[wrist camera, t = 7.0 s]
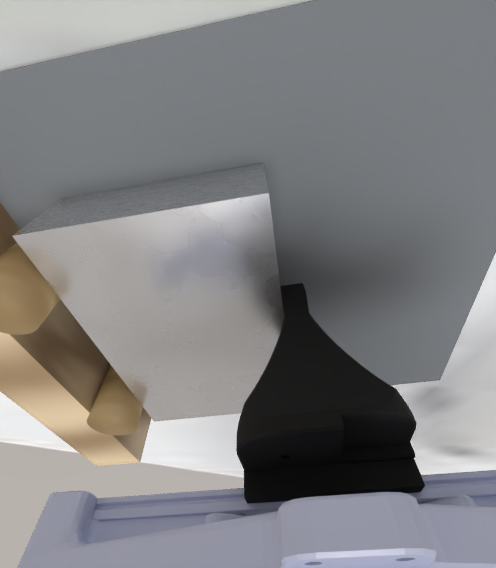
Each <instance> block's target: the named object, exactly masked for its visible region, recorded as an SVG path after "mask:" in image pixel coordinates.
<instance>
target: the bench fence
mask: <svg viewBox="0 0 496 568" xmlns="http://www.w3.org/2000/svg"><path fill="white" fill-rule="evenodd" d="M19 230H20V228H19V227H18V226H17V224H16V223H15V221H14V220H13V219H12V217H11V216H10V215H9V213H8V212H7V211H6V209H5V208H4V206H3V205H2V204H1V202H0V391H1V392H2V393H3V394H4V395H6V396H7V397H8V398H10V399H11V400H12V401H13V402H15V403H16V404H17V405H19V406H20V407H21V408H22V409H24V410H25V411H26V412H28V413H29V414H30V415H31V416H33V417H34V418H35V419H37V420H38V421H39V422H40V423H42V424H43V425H44V426H46V427H47V428H48V429H49V430H51V431H52V432H53V433H55V434H56V435H57V436H58V437H60V438H61V439H62V440H64V441H65V442H66V443H68V444H69V445H70V446H71V447H73V448H74V449H75V450H77V451H78V452H79V453H80V454H82V455H83V456H84V457H86V458H87V459H88V460H89V461H91V462H92V463H93V464H95V465H96V466H102V465H114V464H125V463H137V462H140V460H141V456H142V452H143V448H144V444H145V440H146V437H147V433H148V429H149V425H150V421H151V417H150V415H149V414H148V413H147V411H146V410H145V409H144V408H143V406H142V405H141V403H140V402H139V401H138V400H137V398H136V397H135V396H134V394H133V393H132V392H131V391H130V389H129V388H128V387H127V385H126V384H125V383H124V381H123V380H122V379H121V378H120V376H119V375H118V374H117V372H116V371H115V370H114V368H113V367H112V366H111V364H110V363H109V362H108V361H107V359H106V358H105V357H104V355H103V354H102V353H101V351H100V350H99V349H98V347H97V346H96V345H95V344H94V342H93V341H92V340H91V338H90V337H89V336H88V334H87V333H86V332H85V330H84V329H83V328H82V327H81V325H80V324H79V323H78V321H77V320H76V319H75V317H74V316H73V315H72V314H71V312H70V311H69V310H68V308H67V307H66V306H65V304H64V303H63V302H62V300H61V299H60V298H59V297H58V295H57V294H56V293H55V291H54V290H53V289H52V287H51V286H50V285H49V283H48V282H47V281H46V280H45V278H44V277H43V276H42V274H41V273H40V272H39V270H38V269H37V268H36V266H35V265H34V264H33V263H32V261H31V260H30V259H29V257H28V256H27V255H26V253H25V252H24V251H23V250H22V248H21V247H20V246H19V244H18V243H17V242H16V240H15V239H14V238H13V235H14V234H15V233H16V232H18V231H19Z"/></svg>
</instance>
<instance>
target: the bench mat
mask: <svg viewBox="0 0 496 568" xmlns="http://www.w3.org/2000/svg"><path fill="white" fill-rule="evenodd" d="M260 163H263V165H264V170H265V175H266V181H267V186H268V191H269V198H270V206H271V214H272V223H273V231H274V239H275V247H276V255H277V263H278V271H279V279H280V286H283V285H291V284H298V283H303V285H304V288H305V291H306V295H307V302H308V309H309V313H310V314H311V316H312V317H313V318H314V320H315V321H316V322H317V323H318V325H319V326H320V327H321V328H322V329H323V330H324V331H325V333H326V334H327V335H328V336H329V337H330V338H331V339H332V340H333V341H334V342H335V343H336V344H337V345H338V346H339V347H341V348H342V349H343V350H344V351H345V352H346V353H347V354H348V355H350V356H351V357H352V358H353V359H354V360H356V361H357V362H358V363H359V364H361V365H362V366H363V367H364V368H366V369H367V370H369V371H370V372H371V373H373V374H374V375H375V376H377V377H378V378H380V379H381V380H383V381H384V382H386V383H387V384H389V385H397V384H407V383H416V382H426V381H435V380H440V379H441V376H442V374H443V372H444V369H445V367H446V365H447V362H448V360H449V358H450V356H451V353H452V351H453V349H454V346H455V344H456V342H457V340H458V337H459V335H460V333H461V330H462V328H463V326H464V324H465V321H466V319H467V317H468V314H469V312H470V310H471V307H472V305H473V303H474V301H475V298H476V296H477V294H478V291H479V289H480V287H481V285H482V282H483V280H484V278H485V275H486V273H487V271H488V268H489V266H490V264H491V262H492V259H493V257H494V255H495V252H496V0H313V1H309V2H304V3H300V4H295V5H291V6H287V7H282V8H278V9H273V10H269V11H265V12H260V13H256V14H252V15H247V16H243V17H238V18H234V19H230V20H225V21H221V22H217V23H212V24H208V25H203V26H199V27H195V28H190V29H186V30H182V31H177V32H173V33H168V34H164V35H160V36H155V37H151V38H146V39H142V40H138V41H133V42H129V43H125V44H120V45H116V46H111V47H107V48H103V49H98V50H94V51H90V52H85V53H81V54H76V55H72V56H68V57H63V58H59V59H55V60H50V61H46V62H41V63H37V64H33V65H28V66H24V67H19V68H15V69H11V70H6V71H2V72H0V202H1V204H2V205H3V206H4V208H5V209H6V211H7V212H8V213H9V215H10V216H11V217H12V219H13V220H14V221H15V223H16V224H17V226H18V227H19V228H20V229H22V228H23V227H24V226H26V225H27V224H28V223H30V222H31V221H32V220H34V219H35V218H36V217H38V216H39V215H40V214H42V213H43V212H44V211H46V210H47V209H48V208H49V207H51V206H52V205H53V204H55V203H56V202H57V201H59V200H60V199H63V198H68V197H74V196H79V195H85V194H91V193H96V192H102V191H108V190H113V189H119V188H125V187H130V186H136V185H142V184H147V183H153V182H158V181H164V180H170V179H175V178H181V177H187V176H192V175H198V174H204V173H209V172H215V171H221V170H226V169H232V168H238V167H243V166H249V165H254V164H260Z"/></svg>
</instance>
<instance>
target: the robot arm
mask: <svg viewBox="0 0 496 568" xmlns="http://www.w3.org/2000/svg"><path fill="white" fill-rule="evenodd" d="M280 288H281V296H282V304H283V312H284V321H283V324H282V328H281V331H280V335H279V338H278V340H277V343H276V346H275V348H274V351H273V353H272V355H271V358H270V360H269V362H268V364H267V366H266V368H265V370H264V372H263V374H262V375H261V377H260V379H259V381H258V383H257V384H256V386H255V388H254V389H253V391H252V392H251V394H250V395H249V397H248V398H247V400H246V401H245V403H244V406H243V409H242V413H241V416H240V420H239V424H238V430H237V455H238V457H239V459H240V462H241V464H242V466H243V468H244V488H237V489H224V490H211V491H210V490H209V491H195V492H181V493H167V494H154V495H139V496H125V497H111V498H97V497H96V496H95V495H94V494H92V493H90V492H87V491H69V492H55V493H52V494H50V496H49V498H48V500H47V503H46V505H45V507H44V509H43V511H42V514H41V516H40V518H39V520H38V523H37V525H36V527H35V529H34V532H33V534H32V536H31V538H30V541H29V543H28V545H27V547H26V549H25V552H24V554H23V556H22V558H21V561H20V563H19V565H18V567H17V568H496V470H490V471H476V472H462V473H448V474H434V475H421V474H420V472H419V470H418V467H417V465H416V463H415V460H414V458H415V453H414V450H413V448H412V446H411V443H410V440H411V438H412V436H413V433H414V431H415V429H416V421H415V419H414V416H413V414H412V412H411V411H410V409H409V407H408V406H407V404H406V402H405V401H404V399H403V398H402V397H401V395H400V394H399V392H398V391H397V390H396V389H395V388H393V387H392V386H390V385H389V384H387V383H386V382H384V381H383V380H381V379H380V378H378V377H377V376H375V375H374V374H373V373H371V372H370V371H369V370H367V369H366V368H364V367H363V366H362V365H361V364H359V363H358V362H357V361H356V360H354V359H353V358H352V357H351V356H350V355H348V354H347V353H346V352H345V351H344V350H343V349H342V348H341V347H339V346H338V345H337V344H336V343H335V342H334V341H333V340H332V339H331V338H330V337H329V336H328V335H327V334H326V333H325V331H324V330H323V329H322V328H321V327H320V326H319V325H318V323H317V322H316V321H315V320H314V318H313V317H312V316H311V314H310V313H309V309H308V302H307V295H306V291H305V288H304V285H303V283H298V284H291V285H283V286H280Z"/></svg>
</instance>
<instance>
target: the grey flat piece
mask: <svg viewBox="0 0 496 568" xmlns="http://www.w3.org/2000/svg"><path fill="white" fill-rule="evenodd" d="M13 238H14V239H15V240H16V242H17V243H18V244H19V246H20V247H21V248H22V250H23V251H24V252H25V253H26V255H27V256H28V257H29V259H30V260H31V261H32V263H33V264H34V265H35V266H36V268H37V269H38V270H39V272H40V273H41V274H42V276H43V277H44V278H45V280H46V281H47V282H48V283H49V285H50V286H51V287H52V289H53V290H54V291H55V293H56V294H57V295H58V297H59V298H60V299H61V300H62V302H63V303H64V304H65V306H66V307H67V308H68V310H69V311H70V312H71V314H72V315H73V316H74V317H75V319H76V320H77V321H78V323H79V324H80V325H81V327H82V328H83V329H84V330H85V332H86V333H87V334H88V336H89V337H90V338H91V340H92V341H93V342H94V344H95V345H96V346H97V347H98V349H99V350H100V351H101V353H102V354H103V355H104V357H105V358H106V359H107V361H108V362H109V363H110V364H111V366H112V367H113V368H114V370H115V371H116V372H117V374H118V375H119V376H120V378H121V379H122V380H123V381H124V383H125V384H126V385H127V387H128V388H129V389H130V391H131V392H132V393H133V394H134V396H135V397H136V398H137V400H138V401H139V402H140V403H141V405H142V406H143V408H144V409H145V410H146V411H147V413H148V414H149V415H150V417H151V418H152V419H153V421H163V420H174V419H184V418H195V417H205V416H215V415H226V414H236V413H242V409H243V406H244V403H245V401H246V400H247V398H248V397H249V395H250V394H251V392H252V391H253V389H254V388H255V386H256V384H257V383H258V381H259V379H260V377H261V375H262V374H263V372H264V370H265V368H266V366H267V364H268V362H269V360H270V358H271V355H272V353H273V351H274V348H275V346H276V343H277V340H278V338H279V335H280V331H281V328H282V324H283V321H284V312H283V304H282V296H281V288H280V279H279V271H278V263H277V255H276V247H275V239H274V231H273V223H272V214H271V206H270V198H269V191H268V186H267V181H266V175H265V170H264V165H263V163H260V164H254V165H249V166H243V167H238V168H232V169H226V170H221V171H215V172H209V173H204V174H198V175H192V176H187V177H181V178H175V179H170V180H164V181H158V182H153V183H147V184H142V185H136V186H130V187H125V188H119V189H113V190H108V191H102V192H96V193H91V194H85V195H79V196H74V197H68V198H63V199H60V200H59V201H57V202H56V203H55V204H53V205H52V206H51V207H49V208H48V209H47V210H46V211H44V212H43V213H42V214H40V215H39V216H38V217H36V218H35V219H34V220H32V221H31V222H30V223H28V224H27V225H26V226H24V227H23V228H22V229H20V230H19V231H18V232H16V233H15V234H14V235H13Z"/></svg>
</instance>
